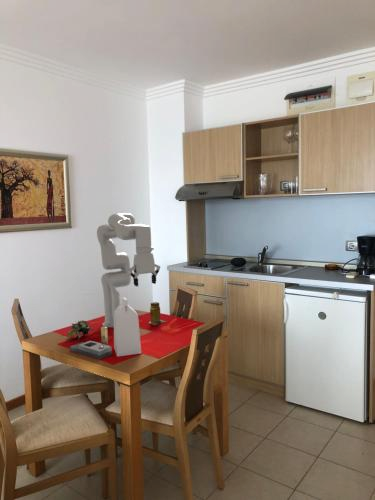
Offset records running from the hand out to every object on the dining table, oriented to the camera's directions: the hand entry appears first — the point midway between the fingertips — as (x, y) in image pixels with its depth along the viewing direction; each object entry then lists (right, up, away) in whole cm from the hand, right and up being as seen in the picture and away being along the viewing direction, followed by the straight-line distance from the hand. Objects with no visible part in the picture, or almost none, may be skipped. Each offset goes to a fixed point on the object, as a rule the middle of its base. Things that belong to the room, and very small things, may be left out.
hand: (145, 284), depth 206 cm
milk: (-8, -32, -3) cm, 34 cm away
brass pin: (-21, -31, +7) cm, 39 cm away
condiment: (+3, -27, +44) cm, 51 cm away
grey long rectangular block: (-26, -33, -4) cm, 42 cm away
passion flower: (-37, -31, +19) cm, 52 cm away
